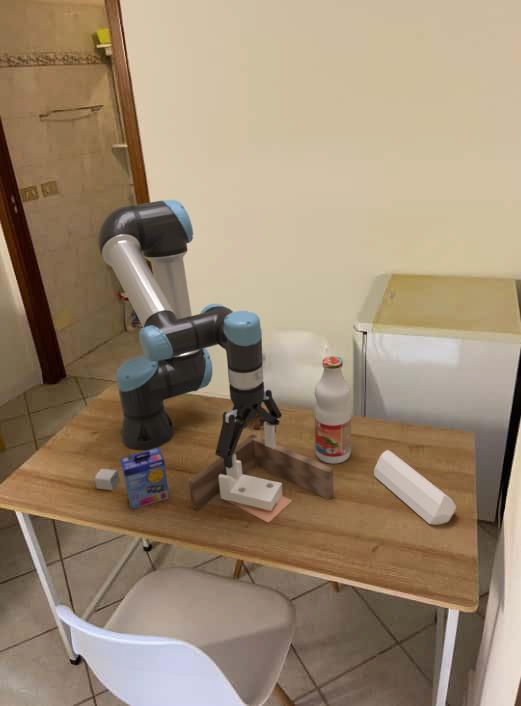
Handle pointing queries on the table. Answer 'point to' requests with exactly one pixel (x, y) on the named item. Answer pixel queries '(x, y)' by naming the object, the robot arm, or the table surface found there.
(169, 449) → the table surface
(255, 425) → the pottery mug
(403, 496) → the crystal
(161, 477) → the ink cartridge box
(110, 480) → the usb wall charger
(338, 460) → the fruit juice
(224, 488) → the bracket
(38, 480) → the table surface
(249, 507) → the pad
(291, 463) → the corner walls
